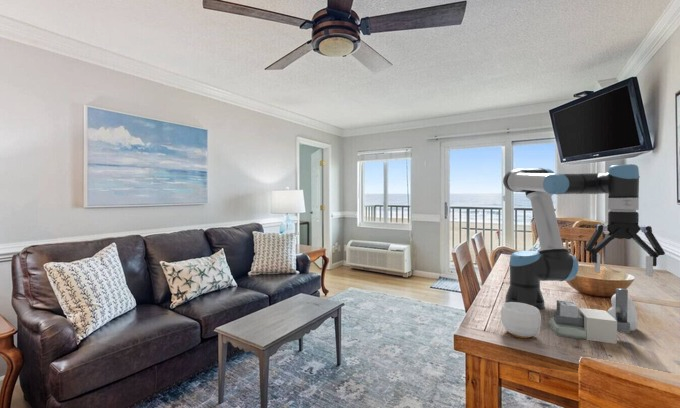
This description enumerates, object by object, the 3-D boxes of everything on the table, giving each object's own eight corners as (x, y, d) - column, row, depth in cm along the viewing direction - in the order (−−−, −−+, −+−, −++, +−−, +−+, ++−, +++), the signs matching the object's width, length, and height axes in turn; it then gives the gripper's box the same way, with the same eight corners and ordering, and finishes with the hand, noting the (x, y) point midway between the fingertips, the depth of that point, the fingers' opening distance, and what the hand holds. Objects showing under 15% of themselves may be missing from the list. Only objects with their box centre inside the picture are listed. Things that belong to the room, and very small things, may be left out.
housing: (586, 339, 104) (586, 317, 104) (577, 327, 113) (577, 307, 113) (616, 344, 101) (617, 321, 101) (604, 331, 110) (605, 310, 110)
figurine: (623, 322, 118) (623, 291, 118) (643, 330, 110) (643, 297, 110) (605, 322, 118) (605, 291, 118) (624, 331, 110) (624, 298, 110)
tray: (556, 335, 107) (556, 327, 107) (550, 324, 117) (550, 317, 117) (585, 339, 104) (586, 331, 104) (576, 327, 113) (576, 320, 113)
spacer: (560, 315, 109) (560, 304, 109) (556, 311, 114) (556, 300, 113) (577, 318, 107) (577, 306, 107) (573, 312, 112) (573, 302, 111)
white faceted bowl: (498, 325, 116) (498, 299, 116) (536, 330, 112) (536, 303, 112) (502, 339, 105) (502, 311, 105) (545, 345, 100) (545, 316, 100)
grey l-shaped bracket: (555, 323, 110) (556, 284, 110) (553, 320, 113) (554, 282, 113) (629, 333, 102) (630, 291, 102) (625, 329, 105) (626, 288, 105)
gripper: (580, 211, 105) (580, 273, 105) (680, 211, 95) (679, 280, 95) (574, 210, 112) (573, 268, 112) (666, 210, 102) (665, 274, 102)
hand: (622, 274), depth 104 cm, fingers open, 13 cm apart
